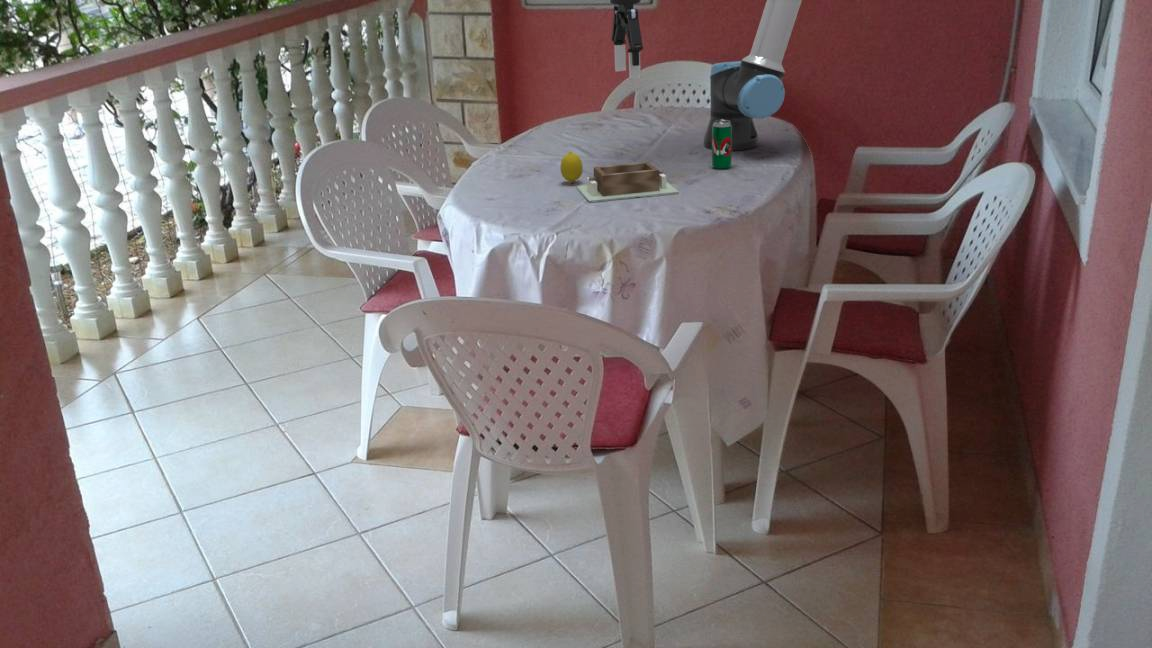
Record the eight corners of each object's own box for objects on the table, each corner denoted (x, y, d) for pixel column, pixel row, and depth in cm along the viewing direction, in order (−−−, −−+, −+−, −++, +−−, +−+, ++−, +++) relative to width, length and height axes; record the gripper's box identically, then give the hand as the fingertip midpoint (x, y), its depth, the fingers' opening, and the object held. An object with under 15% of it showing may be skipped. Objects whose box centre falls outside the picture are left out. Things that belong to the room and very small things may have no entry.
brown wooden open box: (649, 181, 256) (648, 161, 254) (659, 190, 248) (659, 170, 246) (594, 187, 253) (593, 167, 252) (602, 196, 245) (602, 175, 243)
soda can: (733, 165, 269) (734, 119, 264) (728, 170, 265) (728, 123, 260) (715, 164, 271) (715, 118, 266) (709, 169, 267) (709, 122, 262)
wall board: (661, 179, 259) (661, 162, 258) (678, 193, 246) (678, 176, 245) (576, 188, 255) (575, 171, 254) (589, 202, 243) (588, 185, 241)
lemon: (567, 187, 256) (566, 155, 253) (557, 182, 261) (556, 151, 258) (587, 183, 259) (585, 152, 255) (576, 179, 263) (575, 148, 260)
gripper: (597, -16, 263) (601, 68, 271) (623, -9, 240) (626, 83, 248) (626, -18, 264) (628, 66, 272) (654, -11, 241) (656, 81, 250)
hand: (627, 74), depth 260 cm, fingers open, 13 cm apart
